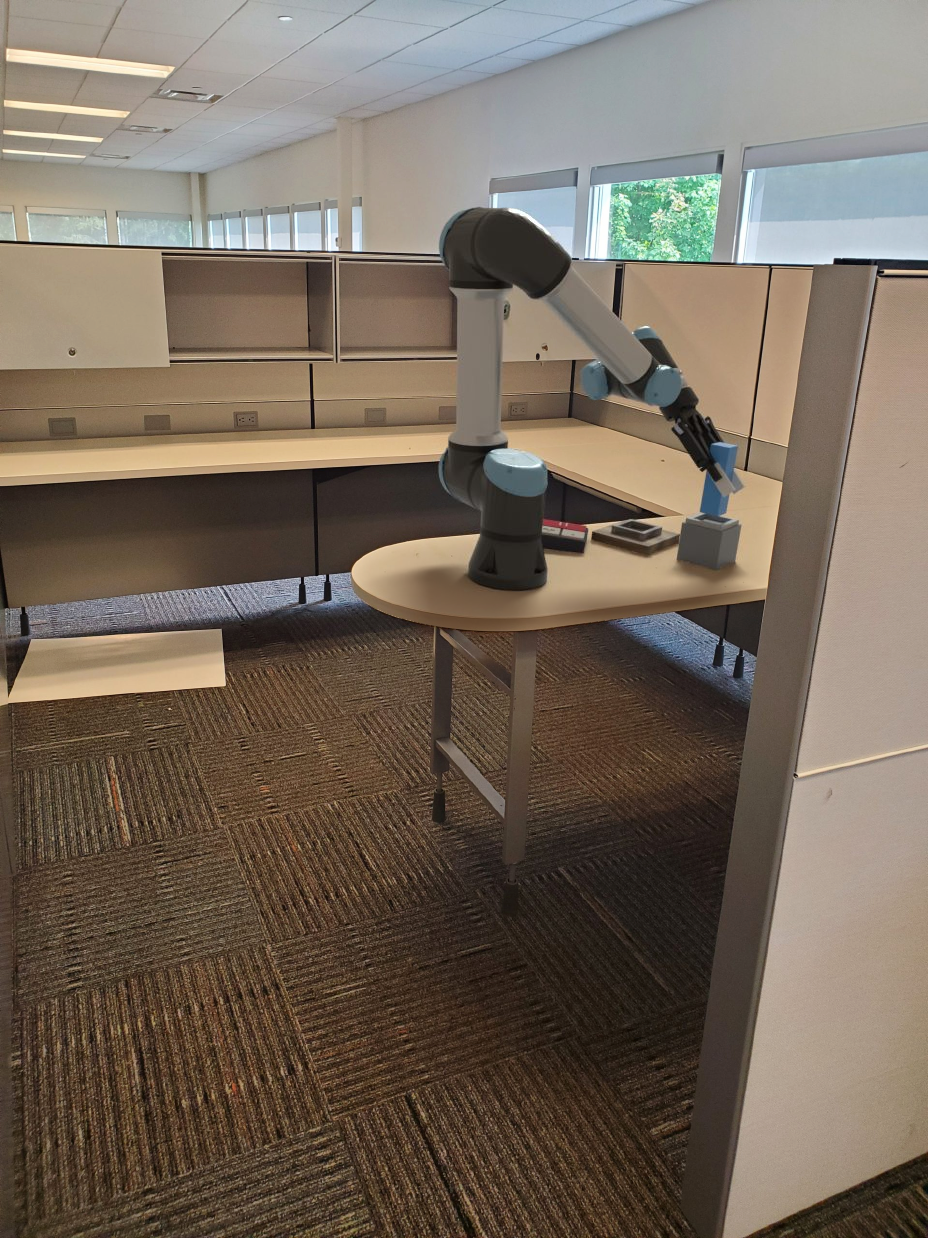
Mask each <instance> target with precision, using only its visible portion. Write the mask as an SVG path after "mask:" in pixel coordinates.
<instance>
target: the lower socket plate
mask: <svg viewBox="0 0 928 1238" xmlns="http://www.w3.org/2000/svg"><path fill="white" fill-rule="evenodd" d="M592 540H593V542H597V543H600V544H603V545H608V546H610V547H614V546H615V548H618V547H619V548H618V549H622V550H625V551H629V552H633V553H637V554H639V555H644V556H650V555H652V554H655V553H657V552H659V551H661V550H664V549H666V548H669V547H672V546H674V545H677V544H679V540H680V533H677V532H674V531H669V530H665V529H663V526H660V525H657V524H653V523H648V522H644V521H640V520H636V519H634V518H632V519H631V518H630V519H626V520H622V521H619V522H616V523H613V524H610V525H607V526H603V527H601V528H598V529H595V530H592V532H591V538H590V541H592Z"/></svg>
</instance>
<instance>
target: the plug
mask: <svg viewBox="0 0 928 1238" xmlns="http://www.w3.org/2000/svg"><path fill="white" fill-rule="evenodd" d="M738 447H739V445H736V444H731V443H726V442H724V443H722V442H718V443H714V444H711V447H710V453H711V455H712V457H713V459H714V460H715V463H714V464H716V463H719V464H720V466H721V467H722V469H723V471H724V472H725V474H726V475H727V477H728V478H729V480H730V481H731V483H732V477H733V472H734V469H735V466H736V465H735V464H736V460H737V455H738V449H739V448H738ZM705 471H706V470H705ZM704 478H705V479H704V485H703V490H702V496H701V501H700V502H701V503H700V507H699V513H705V514H710V515H714V516H720V515H721V516H724V515H726V514H727V512H728V506H729V505H728V504H729V499H730V494H729V495H727V496H726V497H723V496H722V494H721V493H720V491H719V490H718V488H717V486H716V485H715V483H714V482H713V480H712V479H711V477H710V475H709V474H708V472H707V471H706V472H705V477H704Z"/></svg>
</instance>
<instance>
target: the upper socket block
mask: <svg viewBox="0 0 928 1238" xmlns="http://www.w3.org/2000/svg"><path fill="white" fill-rule="evenodd" d="M739 522H740V519H738V518H733V517H729V516H726V515H725V516H724V515H720V516H714V515H710V514H705V513H701V512H699V513H695V514H694V515H691V516H687V517H686V518H685V521H683V522H681V526H680V527H681V528H680V532H679V534H680V538H679V543H678V549H677V553H676V560H678V561H681V562H683V563H684V562H685V563H689V564H691V565H696V566H699V567H703V568H706V569H710V570H714V571H717V570H720V569H722V568H724V567H726V566H727V565H730V564H732V563H734V562H736V559H737V552H738V549H739V548H738V546H739V542H740V541H739V540H740V535H741V531H742V523H739Z"/></svg>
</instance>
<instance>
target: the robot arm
mask: <svg viewBox="0 0 928 1238" xmlns="http://www.w3.org/2000/svg"><path fill="white" fill-rule="evenodd" d="M438 251H439V257H440V259H441V262H442V264H443V265H444V267H445V268H446V270H448V274H449V275H448V277H449V278H448V280H449V281H448V286H449V287H448V288H449V290H450V291H451V292H452V293H453V295H455V297H456V299H457V307H456V308H457V310H456V311H457V319H456V320H457V321H456V323H457V325H456V326H457V328H456V331H457V333H456V338H457V339H456V413H455V414H456V415H455V417H456V423H455V424H456V426H455V430H453V431H452V432H451V434H449V436H448V438H447V439H448V440H447V441H448V442H447V443H448V444H447V447H446V448H445V451H444V452H443V453H441V456H440V458H439V461H438V477H439V480H440V483H441V485H442V487H443V488H444V490H445V491H446V492H447V493H448V494H449V495H451V497H453V498H454V499H455V500H457V501H458V502H459V503H462V504H466V505H468V506H470V507H471V508H474V509H475V510H477V511H479V512H480V528H479V537H478V540H477V542H476V544H475V547H474V549H473V552H472V554H471V557H470V559H469V562H468V566H467V567H468V569H467V572H468V573H467V575H468V578H469V579H470V580H471V581H473V582H475V583H477V584H478V585H482V586H485V587H489V588H493V589H499V590H508V591H510V590H511V591H519V590H520V591H521V590H522V591H523V590H524V591H525V590H530V589H536V588H538V587H542V586H543V585H545V584H546V582H547V579H548V571H549V570H548V564H547V560H546V556H545V551H544V550H545V549H543V546H542V542H541V538H542V527H543V519H544V517H545V515H544V514H545V505H546V495H547V494H546V493H547V487H548V485H549V484H548V468H547V464H546V463H545V461H544V460H543V459H542V458H541V457H540V456H538V455H536V454H533V453H531V452H529V451H522V450H520V449H514V448H509V437H508V436H507V435H506V434H505V432H504V431H503V430H502V426H501V423H502V419H501V418H502V388H503V384H502V383H503V357H504V355H503V353H504V351H503V350H504V319H505V313H504V312H505V299H506V298H507V296H508V295H509V294H510V293H511V292H512V291H513V288H514V286H515V287H517V288H518V289H519V290H521V291H523V292H524V293H525V294H526V295H527V297H529V299H531V300H532V301H533V300H534V301H539V300H540V301H541V302H542V303H543V304H544V305H545V306H546V307H547V308H548V309H549V310H550V311H551V313H553V314H554V315H555V317H557V318H558V320H559V321H560V322H561V323H562V324H563V325H565V327H566V328H568V330H569V331H570V332H571V333H572V334H573V335H574V336H575V337H576V339H578V340H579V341H580V342H581V343H582V344H583V345H584V346H585V347H586V348H587V349H588V350H589V351H590V352H591V353H592V354H593V355H594V357H595V358H596V359H595V360H593V361H591V362H589V363H587V364H585V365H584V366H583V368H582V369H581V371H580V382H581V386H582V389H583V392H584V393H585V395H586V396H587V397H588V398H589V399H591V400H593V401H599V400H600V401H601V400H602V399H606V398H608V397H609V396H617V397H620V398H624V399H628V400H632V401H635V402H639V403H641V404H645V405H646V404H647V405H648V406H650V407H658V410H659V411H660V413H661V414H662V415H663V417H664V419H665V420H666V421H667V422H669V423H670V422H674V426H672V427H671V429H670V430H671V432H672V433H673V434H674V435H675V436H676V437H677V439H678V440H679V441H680V443H681V444H682V446H683V448H684V449H685V450H686V452H687V453H688V456H689V457H690V458H691V460H692V461H693V463H694V464H695V466H696V467H697V468H698V469H699V471H700V472H701V473H704V472H705V471H707V472H708V474H709V475H710V477H711V479H712V480H713V482H714V483H715V485H716V486H717V488H718V490H719V491H720V493H721V494H722V496H723V497H726V496H727V495H729V496H730V494H731V493H732V494H733V495H735V494H737V493H738V492H739V491H741V490H742V489H744V488H745V487H746V485H745V483H744V482H743V480H742V478H741V477H740V475H739V474H738V472H737V470H736V469H735V468H734V472H733V477H732V483H731V481H730V480H729V478H728V477H727V475H726V474H725V472H724V471H723V469H722V467H721V466H720V464H719V463H716V464H714V463H715V460H714V459H713V457H712V455H711V453H710V447H711V444H714V443H718V442H722V443H725V441H724V440H723V438H722V436H721V435H720V433H719V431H718V430H717V429H716V427H715V426H714V422H713V421H712V418H711V417H710V416H709V415H707V416H706V417H704V416H702V414H701V412H699V411H698V410H697V409H696V408H697V405H698V404H699V401H700V400H699V397H698V396H697V395H696V393H695V392H694V390H693V388H692V387H691V386H689V383H688V381H687V380H686V378H685V376H684V371H683V370H681V369H679V367H678V366H677V364H676V362H675V360H674V359H673V357H672V356H671V354H670V352H669V350H668V349H667V348H666V346H665V344H664V342H663V340H662V339H661V338H660V336H658V333H656V331H655V330H654V329H653V328H652V327H650V326H649V325H648V326H647V325H645V326H640V327H638V328H636V329H635V330H634V331H632V332H631V330H629V328H628V327H627V326H626V324H624V322H622V320H621V319H620V318H619V317H618V316H617V315H616V314H615V312H613V311H612V309H611V308H610V307H609V306H608V305H607V303H605V301H604V300H602V298H601V297H600V296H599V295H598V294H597V292H596V291H594V289H593V288H592V287H591V286H590V285H589V284H588V282H586V281H585V279H583V277H582V276H581V275H580V274H579V273H578V272H577V270H576V269H575V268H574V267H573V259H572V258H573V257H572V256H571V255H570V253H569V252H568V250H566V249H565V248H564V247H563V245H561V244H560V242H559V241H558V240H556V238H555V237H554V236H553V235H552V234H551V233H550V232H549V231H548V230H547V229H546V228H545V227H544V226H543V225H542V224H540V223H539V222H538V221H537V220H536V219H535V218H534V217H532V216H530V215H529V214H528V213H525V212H524V211H521V210H520V209H517V208H513V207H481V206H477V207H470V208H466V209H462V210H460V211H458V212H456V213H455V214H453V215H452V216H451V217H450V218H449V219H448V220H447V222H446V223H444V226H443V228H442V230H441V232H440V237H439V241H438Z"/></svg>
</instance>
